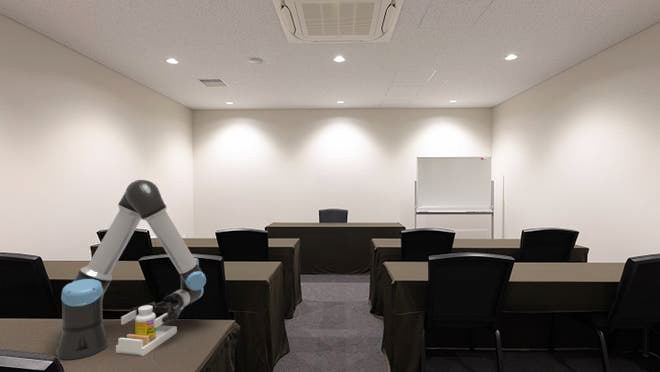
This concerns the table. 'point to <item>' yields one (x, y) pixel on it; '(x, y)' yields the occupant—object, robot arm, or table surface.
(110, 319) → the table surface
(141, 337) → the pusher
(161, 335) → the tray
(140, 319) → the supplement bottle
